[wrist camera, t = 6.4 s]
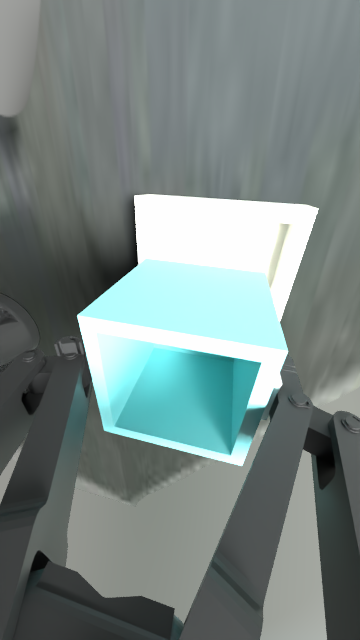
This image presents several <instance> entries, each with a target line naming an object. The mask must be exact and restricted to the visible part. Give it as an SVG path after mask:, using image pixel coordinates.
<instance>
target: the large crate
mask: <svg viewBox="0 0 360 640" xmlns="http://www.w3.org/2000/svg"><path fill="white" fill-rule="evenodd" d="M317 211H318V208H315V207H312V206H309V205H302V204H287V203H272V202H258V201H243V200H228V199H214V198H199V197H184V196H169V195H155V194H145V195H137V196H135V214H136V232H137V250H138V265H139V264H140V263H141V262H143V261H144V260H145V259H146V258H147V259H156V260H164V261H173V262H181V263H190V264H198V265H207V266H215V267H224V268H232V269H241V270H249V271H258V272H265V274H266V278H267V281H268V285H269V288H270V291H271V295H272V298H273V302H274V305H275V308H276V312H277V315H278V319H279V322H280V319H281V316H282V313H283V310H284V307H285V304H286V302H287V299H288V296H289V293H290V290H291V287H292V284H293V281H294V278H295V275H296V272H297V269H298V267H299V264H300V261H301V258H302V255H303V252H304V249H305V246H306V243H307V240H308V237H309V234H310V231H311V229H312V226H313V223H314V220H315V217H316V214H317Z"/></svg>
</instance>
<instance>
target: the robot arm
mask: <svg viewBox="0 0 360 640" xmlns="http://www.w3.org/2000/svg"><path fill="white" fill-rule="evenodd" d="M39 340H40V336H39V331H38V328H37V326H36V324H35V322H34V321H33V319H32V318H31V316H30V315H29V314H28V313H27V311H26V310H25V309H24V308H23V307H21V306H20V305H19V304H18V303H17V302H15V301H14V300H12V299H11V298H9V297H7V296H5V295H3V294H0V366H1V365H4V364H6V363H9V362H11V361H13V362H12V363H11V364H10V365H9V366H8V367H7V368H6V369H5V370H4V371H3V372H2V373H1V374H0V475H1V473H2V471H3V470H4V469H5V467H6V466H7V464H8V462H9V461H10V459H11V458H12V456H13V455H14V453H15V452H16V450H17V449H18V447H19V446H20V444H21V443H22V441H23V439H24V438H25V436H26V435H27V433H28V435H27V437H26V440H25V443H24V445H23V448H22V450H21V453H20V455H19V458H18V461H17V463H16V466H15V468H14V471H13V474H12V476H11V479H10V481H9V484H8V486H7V489H6V492H5V494H4V496H3V499H2V502H1V504H0V640H260V636H261V631H262V623H263V604H264V599H265V595H266V591H267V587H268V583H269V579H270V576H271V571H272V568H273V564H274V560H275V556H276V552H277V548H278V544H279V540H280V536H281V532H282V528H283V524H284V521H285V517H286V513H287V509H288V505H289V501H290V497H291V493H292V489H293V485H294V481H295V477H296V473H297V470H298V466H299V462H300V458H301V454H302V450H303V449H304V450H305V451H307V452H309V453H311V457H312V469H313V480H314V492H315V503H316V515H317V527H318V538H319V549H320V561H321V572H322V584H323V596H324V607H325V619H326V631H327V640H360V418H358V417H357V416H355V415H353V414H351V413H349V412H345V411H338V412H336V413H335V414H334V415H331V414H329V413H327V412H325V411H323V410H320V409H318V408H317V407H315V406H313V404H312V402H311V400H310V399H309V398H308V397H307V396H306V395H305V394H303V391H302V388H301V385H300V381H299V378H298V375H297V371H296V368H295V365H294V362H293V359H292V358H291V357H290V356H289V355H288V354H287V355H286V358H285V360H284V363H283V365H282V368H281V370H280V372H279V375H278V377H277V380H276V382H275V385H274V387H273V390H272V392H271V395H270V397H269V400H268V402H267V405H266V407H265V410H264V412H263V415H262V417H261V419H263V420H267V418H268V416H269V415H270V423H269V426H268V428H267V430H266V432H265V435H264V437H263V440H262V442H261V445H260V447H259V449H258V452H257V454H256V456H255V459H254V461H253V463H252V466H251V468H250V470H249V473H248V475H247V477H246V480H245V482H244V484H243V487H242V489H241V491H240V494H239V496H238V498H237V501H236V503H235V506H234V508H233V510H232V513H231V515H230V518H229V520H228V522H227V524H226V527H225V529H224V532H223V534H222V536H221V538H220V541H219V543H218V546H217V548H216V550H215V553H214V555H213V557H212V560H211V562H210V564H209V567H208V569H207V571H206V574H205V576H204V579H203V581H202V583H201V585H200V588H199V590H198V592H197V595H196V597H195V599H194V601H193V604H192V606H191V608H190V611H189V613H188V616H187V618H186V620H185V623H184V624H183V623H182V621H180V620H179V619H178V618H177V617H176V616H175V615H174V608H172V607H169V606H166V605H164V604H161V603H158V602H156V601H153V600H151V599H148V598H145V597H142V596H133V597H116V598H104V597H102V596H101V595H100V594H99V593H98V592H97V591H96V590H95V589H94V588H93V587H92V586H91V585H90V584H89V583H88V582H87V581H86V580H85V579H84V578H83V577H82V576H81V575H80V574H79V573H78V572H76V571H73V570H71V569H68V568H65V566H66V559H67V548H68V543H67V528H68V523H69V517H70V511H71V505H72V499H73V494H74V488H75V482H76V476H77V471H78V465H79V459H80V453H81V448H82V442H83V436H84V430H85V424H86V419H87V413H88V407H89V401H90V395H91V390H92V383H91V381H92V376H91V372H90V367H89V363H88V359H87V355H86V350H85V346H84V342H83V341H81V339H80V338H79V337H77V336H67V337H64V338H61V339H59V340H58V341H56V343H55V344H54V345H55V348H56V351H57V355H58V356H46V357H45V355H44V353H43V352H42V351H41V350H37V349H36V350H34V349H35V348H36V347H37V346H38V344H39ZM26 388H27V389H26ZM25 389H26V390H25ZM24 390H25V391H24Z"/></svg>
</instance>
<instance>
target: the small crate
mask: <svg viewBox="0 0 360 640" xmlns="http://www.w3.org/2000/svg"><path fill="white" fill-rule="evenodd" d="M77 316H78V320H79V325H80V329H81V333H82V337H83V342H84V346H85V350H86V355H87V359H88V363H89V367H90V372H91V376H92V380H93V384H94V389H95V393H96V397H97V401H98V406H99V410H100V414H101V418H102V423H103V427H104V431H108V432H112V433H116V434H119V435H123V436H127V437H131V438H135V439H139V440H143V441H147V442H151V443H155V444H158V445H162V446H166V447H170V448H174V449H178V450H182V451H186V452H190V453H194V454H197V455H201V456H205V457H209V458H213V459H217V460H221V461H225V462H229V463H233V464H236V465H241V466H242V464H243V462H244V460H245V457H246V455H247V452H248V450H249V447H250V445H251V442H252V440H253V437H254V435H255V432H256V430H257V427H258V425H259V422H260V420H261V417H262V415H263V412H264V410H265V407H266V405H267V402H268V400H269V397H270V395H271V392H272V390H273V387H274V385H275V382H276V380H277V377H278V375H279V372H280V370H281V368H282V365H283V363H284V360H285V358H286V355H287V353H288V349H287V346H286V342H285V339H284V335H283V332H282V329H281V325H280V322H279V319H278V315H277V312H276V308H275V305H274V302H273V298H272V295H271V291H270V288H269V285H268V281H267V278H266V274H265V272H258V271H249V270H241V269H232V268H224V267H215V266H207V265H198V264H190V263H181V262H173V261H164V260H156V259H147V258H146V259H145V260H144V261H143V262H141V263H140V264H139V265H138V266H136V267H135V268H134V269H133V270H132V271H130V272H129V273H128V274H127V275H126V276H124V277H123V278H122V279H121V280H119V281H118V282H117V283H116V284H115V285H113V286H112V287H111V288H110V289H109V290H107V291H106V292H105V293H104V294H103V295H101V296H100V297H99V298H98V299H96V300H95V301H94V302H93V303H92V304H90V305H89V306H88V307H87V308H86V309H84V310H83V311H82V312H81V313H79V314H78V315H77Z"/></svg>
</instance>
